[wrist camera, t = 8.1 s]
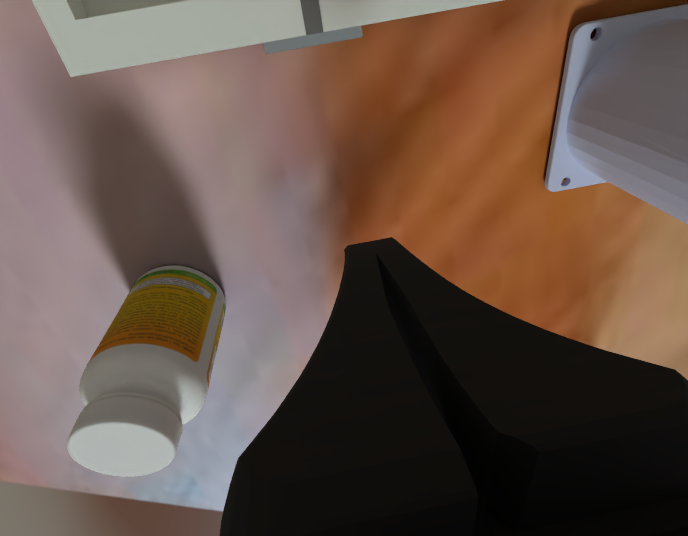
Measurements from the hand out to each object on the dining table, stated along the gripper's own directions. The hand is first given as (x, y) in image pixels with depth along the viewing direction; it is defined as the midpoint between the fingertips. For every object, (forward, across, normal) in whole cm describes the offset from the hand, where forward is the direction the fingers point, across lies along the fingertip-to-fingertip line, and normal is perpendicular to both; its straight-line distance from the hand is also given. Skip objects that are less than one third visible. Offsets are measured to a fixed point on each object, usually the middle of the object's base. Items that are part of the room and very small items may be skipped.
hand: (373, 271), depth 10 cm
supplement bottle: (+11, +11, +7) cm, 17 cm away
